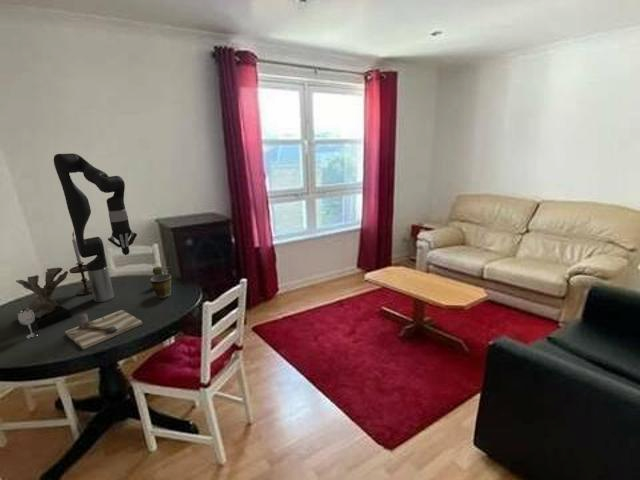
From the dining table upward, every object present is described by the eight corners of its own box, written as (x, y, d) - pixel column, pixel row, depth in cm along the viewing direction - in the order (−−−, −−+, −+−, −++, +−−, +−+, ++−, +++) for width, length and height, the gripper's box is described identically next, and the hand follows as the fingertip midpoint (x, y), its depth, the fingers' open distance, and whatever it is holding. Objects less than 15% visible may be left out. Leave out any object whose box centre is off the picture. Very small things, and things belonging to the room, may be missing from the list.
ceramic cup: (178, 293, 194) (175, 276, 191) (161, 300, 186) (158, 282, 183) (163, 289, 201) (160, 272, 198) (146, 296, 193) (143, 278, 190)
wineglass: (30, 332, 161) (22, 308, 157) (43, 331, 161) (36, 307, 158) (20, 339, 155) (12, 314, 152) (35, 338, 156) (27, 313, 152)
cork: (162, 288, 202) (158, 269, 199) (152, 287, 204) (148, 269, 201) (168, 283, 208) (165, 265, 205) (159, 283, 209) (155, 265, 206)
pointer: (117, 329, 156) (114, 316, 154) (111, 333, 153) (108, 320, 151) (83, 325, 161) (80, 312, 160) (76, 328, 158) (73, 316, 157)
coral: (17, 317, 177) (4, 276, 171) (64, 300, 192) (54, 262, 186) (36, 330, 163) (23, 286, 157) (85, 311, 178) (75, 271, 172)
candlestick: (93, 286, 210) (78, 228, 200) (101, 290, 203) (87, 230, 193) (72, 293, 201) (56, 232, 191) (80, 297, 195) (64, 235, 185)
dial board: (65, 334, 158) (64, 331, 157) (122, 312, 175) (121, 309, 175) (83, 349, 145) (82, 345, 145) (142, 324, 163) (142, 320, 163)
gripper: (130, 215, 177) (137, 249, 182) (100, 221, 168) (108, 256, 173) (136, 217, 172) (143, 252, 177) (106, 223, 163) (114, 259, 168)
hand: (126, 254), depth 175 cm, fingers closed
